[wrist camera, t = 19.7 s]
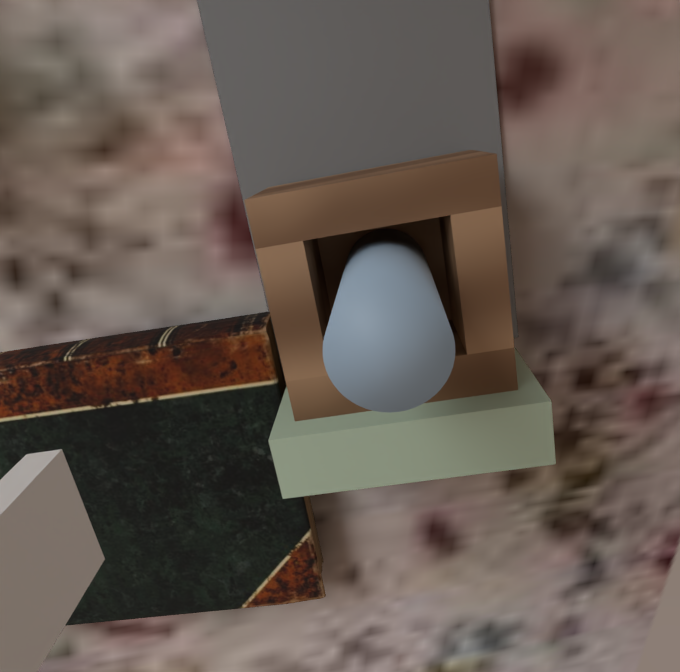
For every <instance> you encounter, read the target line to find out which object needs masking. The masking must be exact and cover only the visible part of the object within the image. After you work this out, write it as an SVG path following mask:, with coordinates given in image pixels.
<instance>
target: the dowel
mask: <svg viewBox="0 0 680 672" xmlns="http://www.w3.org/2000/svg"><path fill="white" fill-rule="evenodd" d="M323 360H324V365H325V369H326V371H327V374H328V376H329V378H330V380H331V381H332V383H333V385H334V386H335V387H336V388H337V390H338V391H339V392H340V393H341V394H342V395H343V396H344V397H346V398H347V399H348V400H350V401H351V402H353V403H355V404H356V405H358V406H361V407H363V408H365V409H369V410H372V411H377V412H389V413H391V412H401V411H406V410H409V409H412V408H415V407H417V406H419V405H422V404H423V403H425V402H427V401H428V400H430V399H431V398H432V397H433V396H435V395H436V394H437V393H438V392H439V391H440V389H441V388H442V387H443V386H444V384H445V383H446V381H447V380H448V378H449V376H450V374H451V371H452V368H453V365H454V360H455V341H454V336H453V332H452V330H451V327H450V324H449V321H448V319H447V316H446V313H445V310H444V308H443V305H442V302H441V299H440V296H439V294H438V291H437V288H436V285H435V283H434V280H433V277H432V274H431V271H430V269H429V266H428V263H427V260H426V258H425V255H424V252H423V250H422V248H421V247H420V245H419V244H418V243H417V242H416V240H415V239H413V238H412V237H411V236H410V235H408V234H406V233H404V232H402V231H399V230H396V229H378V230H374V231H372V232H369V233H367V234H366V235H364V236H363V237H361V238H360V239H359V240H358V241H357V242H356V243H355V244H354V246H353V247H352V249H351V251H350V253H349V255H348V258H347V262H346V265H345V269H344V272H343V275H342V279H341V282H340V285H339V289H338V292H337V295H336V299H335V302H334V305H333V309H332V312H331V316H330V319H329V322H328V326H327V329H326V332H325V336H324V340H323Z"/></svg>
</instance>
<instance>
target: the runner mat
mask: <svg viewBox="0 0 680 672" xmlns="http://www.w3.org/2000/svg"><path fill="white" fill-rule="evenodd" d="M197 3H198V7H199V11H200V16H201V20H202V24H203V29H204V33H205V37H206V42H207V46H208V51H209V55H210V59H211V64H212V68H213V72H214V77H215V81H216V85H217V90H218V94H219V98H220V103H221V107H222V111H223V116H224V120H225V124H226V129H227V133H228V138H229V142H230V146H231V151H232V155H233V159H234V164H235V168H236V172H237V177H238V181H239V185H240V190H241V194H242V198H243V203H244V207H245V211H246V216H247V220H248V224H249V219H248V215H247V210H246V206H245V202H244V200H245V199H247V198H249V197H251V196H253V195H255V194H257V193H259V192H261V191H263V190H264V189H266V188H268V187H273V186H278V185H283V184H289V183H294V182H299V181H305V180H310V179H316V178H321V177H326V176H332V175H337V174H343V173H348V172H353V171H359V170H364V169H370V168H375V167H380V166H386V165H391V164H397V163H402V162H407V161H413V160H418V159H424V158H429V157H434V156H440V155H445V154H451V153H456V152H461V151H467V150H476V151H483V152H489V153H495V154H497V161H498V172H499V183H500V194H501V205H502V216H503V227H504V238H505V249H506V260H507V271H508V282H509V293H510V304H511V316H512V327H513V338H516V337H518V327H517V316H516V305H515V293H514V282H513V270H512V259H511V247H510V236H509V225H508V213H507V202H506V190H505V179H504V168H503V156H502V145H501V133H500V122H499V110H498V99H497V88H496V76H495V65H494V53H493V42H492V31H491V19H490V8H489V0H197ZM249 229H250V233H251V238H252V242H253V246H254V251H255V255H256V259H257V264H258V268H259V272H260V267H259V263H258V258H257V254H256V250H255V245H254V241H253V237H252V232H251V228H250V224H249ZM260 277H261V281H262V285H263V280H262V276H261V272H260ZM263 290H264V294H265V298H266V293H265V289H264V285H263ZM266 303H267V307H268V311H269V306H268V302H267V298H266ZM269 312H270V311H269ZM270 320H271V318H270ZM271 325H272V329H273V333H274V328H273V324H272V320H271ZM274 338H275V342H276V346H277V341H276V337H275V333H274ZM277 351H278V355H279V359H280V354H279V350H278V346H277ZM280 364H281V368H282V372H283V367H282V363H281V359H280Z"/></svg>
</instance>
